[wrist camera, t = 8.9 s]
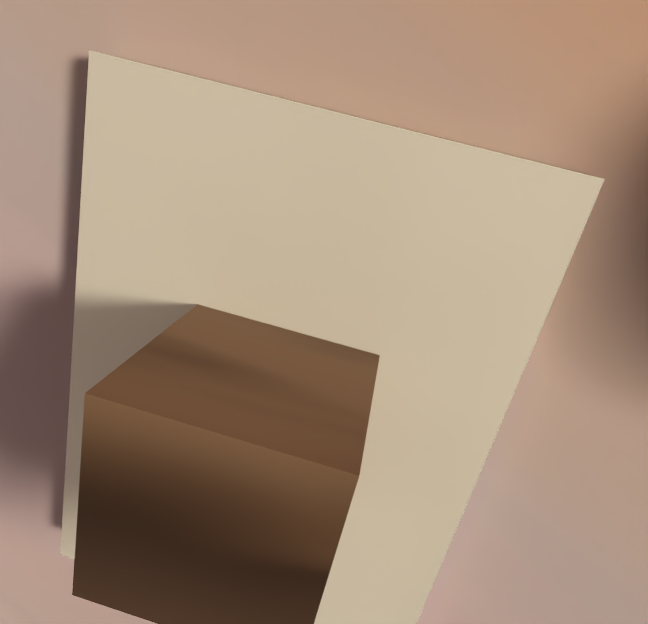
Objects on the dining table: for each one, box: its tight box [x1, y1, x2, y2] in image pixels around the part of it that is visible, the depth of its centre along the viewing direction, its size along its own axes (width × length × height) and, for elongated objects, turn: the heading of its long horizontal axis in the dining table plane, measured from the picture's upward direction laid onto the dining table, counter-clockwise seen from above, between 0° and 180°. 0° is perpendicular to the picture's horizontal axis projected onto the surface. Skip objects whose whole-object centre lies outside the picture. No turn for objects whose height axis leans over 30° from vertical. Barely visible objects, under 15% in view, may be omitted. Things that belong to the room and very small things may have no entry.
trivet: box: [60, 50, 605, 624], centre depth 15 cm, size 16×12×1 cm
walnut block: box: [72, 304, 380, 624], centre depth 12 cm, size 5×5×5 cm
